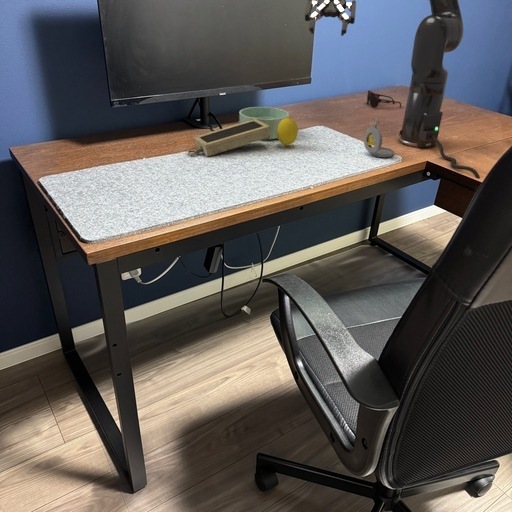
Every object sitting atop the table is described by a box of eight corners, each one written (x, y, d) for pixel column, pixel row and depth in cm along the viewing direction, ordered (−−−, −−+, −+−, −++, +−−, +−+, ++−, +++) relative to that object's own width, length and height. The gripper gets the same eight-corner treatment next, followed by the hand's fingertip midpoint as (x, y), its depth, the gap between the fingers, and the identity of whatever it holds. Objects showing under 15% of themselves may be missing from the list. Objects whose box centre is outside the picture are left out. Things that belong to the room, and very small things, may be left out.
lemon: (296, 144, 135) (299, 114, 131) (296, 150, 130) (298, 120, 126) (276, 142, 135) (278, 113, 131) (275, 148, 131) (277, 118, 127)
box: (273, 143, 130) (271, 125, 127) (196, 168, 122) (192, 149, 119) (257, 135, 136) (255, 117, 133) (184, 158, 128) (180, 140, 125)
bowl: (296, 137, 140) (298, 116, 137) (253, 143, 134) (254, 121, 131) (271, 124, 151) (273, 105, 148) (230, 129, 145) (230, 109, 142)
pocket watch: (396, 153, 131) (403, 116, 126) (387, 162, 125) (394, 123, 120) (367, 147, 134) (373, 111, 129) (356, 155, 128) (362, 117, 123)
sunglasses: (361, 101, 182) (365, 88, 180) (390, 105, 185) (394, 92, 183) (372, 108, 173) (376, 94, 171) (402, 113, 176) (406, 99, 174)
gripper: (310, -26, 140) (302, 21, 136) (360, -24, 137) (353, 24, 134) (310, -6, 147) (302, 40, 143) (357, -3, 145) (351, 43, 141)
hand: (327, 32), depth 138 cm, fingers open, 8 cm apart
